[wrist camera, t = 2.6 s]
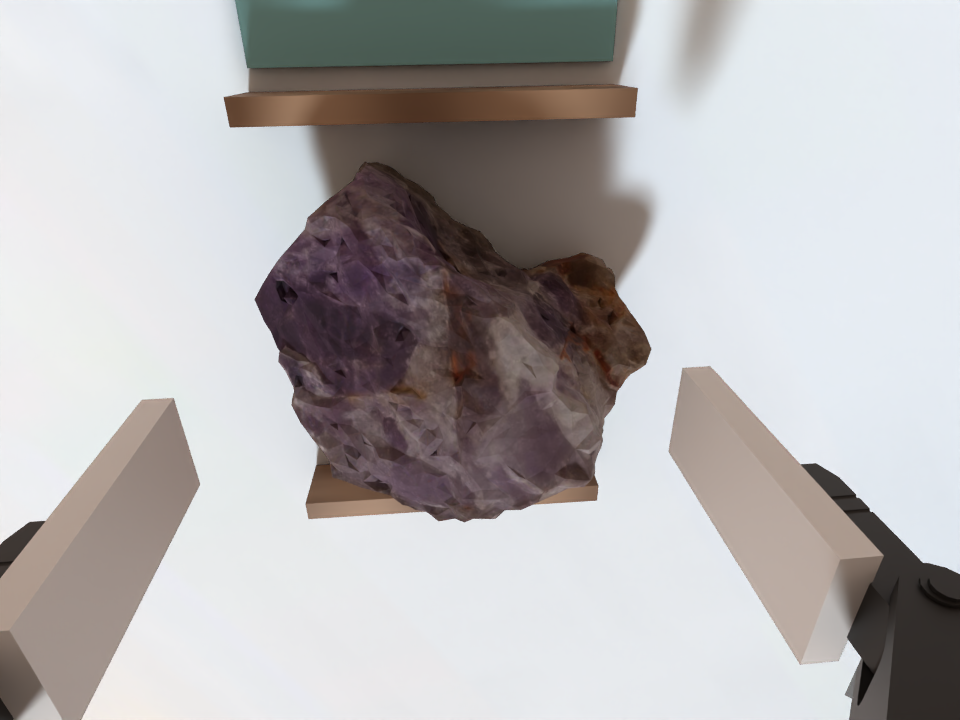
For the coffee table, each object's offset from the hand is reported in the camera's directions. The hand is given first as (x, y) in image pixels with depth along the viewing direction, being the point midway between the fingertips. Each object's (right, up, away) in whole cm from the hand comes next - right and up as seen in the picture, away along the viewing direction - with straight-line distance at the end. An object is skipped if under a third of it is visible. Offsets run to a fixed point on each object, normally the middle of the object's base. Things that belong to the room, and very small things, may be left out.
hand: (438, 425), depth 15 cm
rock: (0, +4, +8) cm, 9 cm away
